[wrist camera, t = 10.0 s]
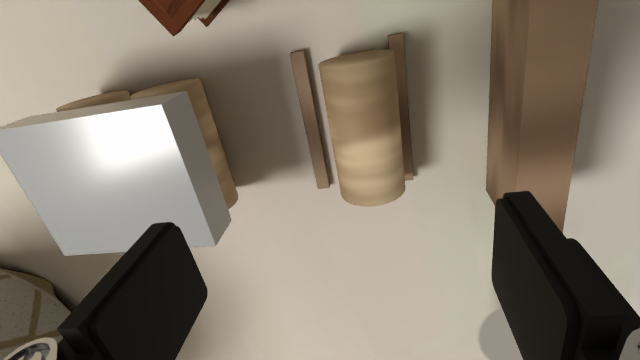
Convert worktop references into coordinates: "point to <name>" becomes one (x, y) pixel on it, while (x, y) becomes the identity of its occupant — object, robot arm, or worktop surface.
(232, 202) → the bed rollers
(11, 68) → the worktop surface
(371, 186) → the roller
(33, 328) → the planter
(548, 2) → the stop block
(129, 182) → the slab
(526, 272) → the robot arm
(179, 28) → the book
